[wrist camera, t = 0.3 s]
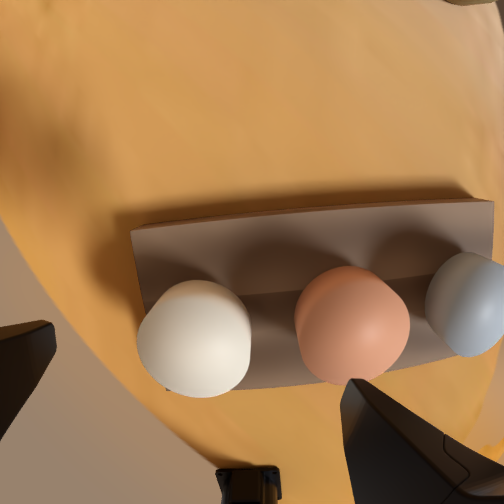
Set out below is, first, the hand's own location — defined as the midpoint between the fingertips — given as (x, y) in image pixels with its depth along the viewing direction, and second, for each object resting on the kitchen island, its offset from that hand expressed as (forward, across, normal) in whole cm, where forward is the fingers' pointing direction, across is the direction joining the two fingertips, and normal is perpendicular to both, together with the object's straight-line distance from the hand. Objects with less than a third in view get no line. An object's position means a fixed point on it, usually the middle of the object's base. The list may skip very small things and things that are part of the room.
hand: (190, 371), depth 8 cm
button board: (+14, -7, +1) cm, 16 cm away
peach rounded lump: (+12, -7, +1) cm, 14 cm away
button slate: (+13, -15, -1) cm, 20 cm away
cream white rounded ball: (+12, +1, +4) cm, 13 cm away
